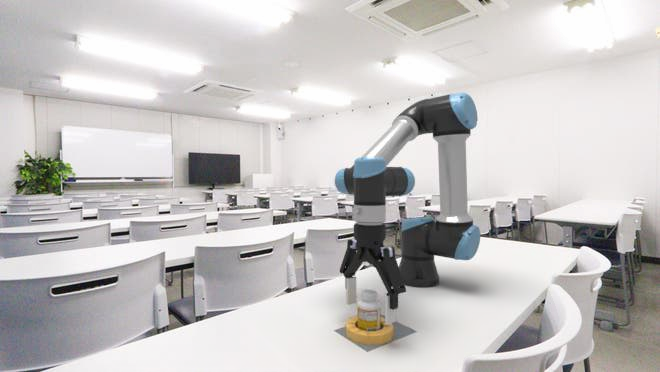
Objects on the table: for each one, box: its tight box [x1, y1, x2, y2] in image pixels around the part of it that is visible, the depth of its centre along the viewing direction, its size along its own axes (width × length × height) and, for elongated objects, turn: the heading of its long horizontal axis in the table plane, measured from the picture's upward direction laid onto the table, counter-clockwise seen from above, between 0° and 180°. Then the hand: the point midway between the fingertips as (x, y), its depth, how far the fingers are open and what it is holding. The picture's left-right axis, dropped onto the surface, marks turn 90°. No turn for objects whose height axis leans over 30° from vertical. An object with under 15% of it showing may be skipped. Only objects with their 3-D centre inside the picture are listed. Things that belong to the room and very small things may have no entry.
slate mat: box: [334, 314, 418, 353], centre depth 78 cm, size 12×16×1 cm
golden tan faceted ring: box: [344, 315, 394, 345], centre depth 77 cm, size 11×11×2 cm
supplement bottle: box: [357, 289, 381, 332], centre depth 77 cm, size 5×5×10 cm
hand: (369, 312), depth 77 cm, fingers open, 13 cm apart
